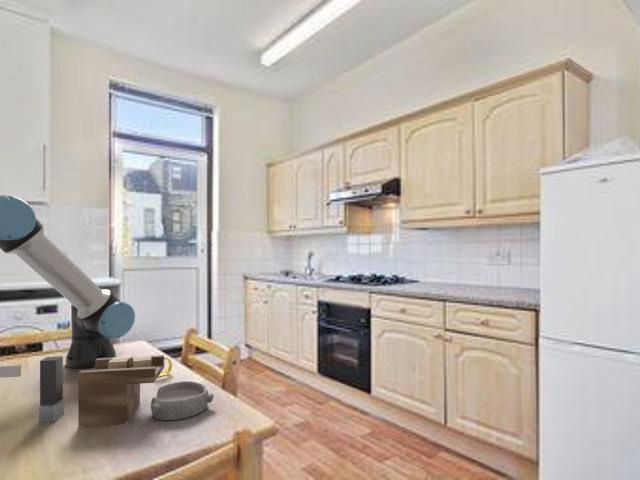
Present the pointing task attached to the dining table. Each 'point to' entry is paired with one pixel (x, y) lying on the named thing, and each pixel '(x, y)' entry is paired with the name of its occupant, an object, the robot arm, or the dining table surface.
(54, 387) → the dark gray upright block
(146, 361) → the cream block
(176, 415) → the dish
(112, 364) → the cream square block
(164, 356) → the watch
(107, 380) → the slot board
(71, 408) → the dining table surface
